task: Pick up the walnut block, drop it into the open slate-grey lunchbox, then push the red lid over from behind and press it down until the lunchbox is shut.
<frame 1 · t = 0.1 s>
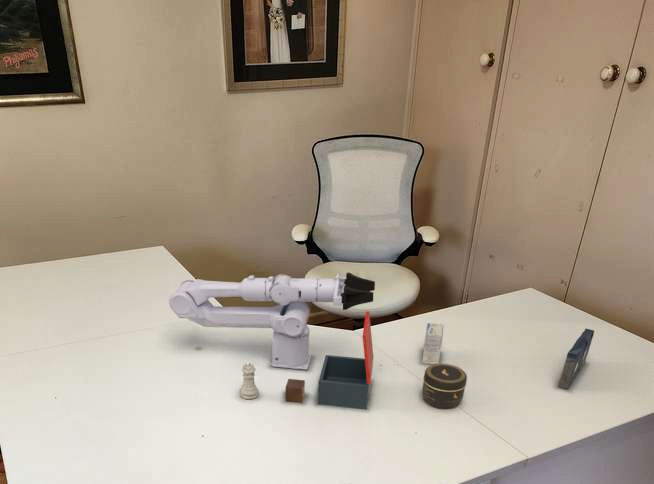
hand: (374, 291, 151), 22 cm above the table, tool horizontal, fingers open, 7 cm apart
lid: (368, 347, 145), point 13 cm above the table, hinge at 80.0°
rook chess piece: (249, 396, 149), on the table
jar: (441, 400, 151), on the table
lunchbox: (344, 392, 152), on the table
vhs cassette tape: (571, 375, 164), on the table
medicine box: (430, 358, 169), on the table
block: (294, 398, 149), on the table
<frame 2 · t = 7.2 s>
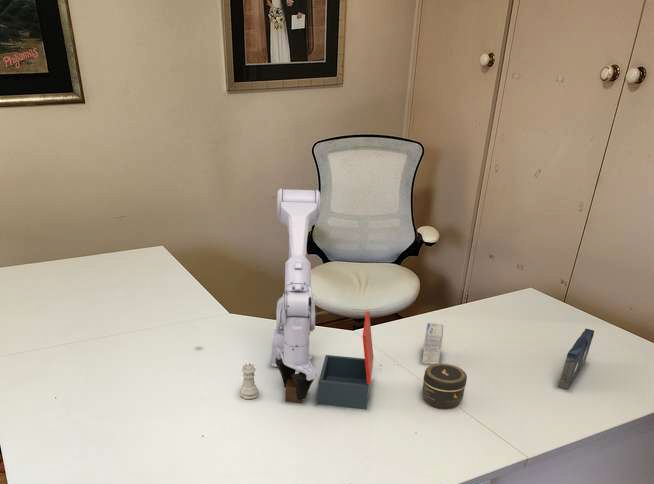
hand: (295, 393, 148), 1 cm above the table, tool pointing down, fingers closed on block, 5 cm apart
block: (294, 397, 149), on the table, touching gripper
everything else where it was.
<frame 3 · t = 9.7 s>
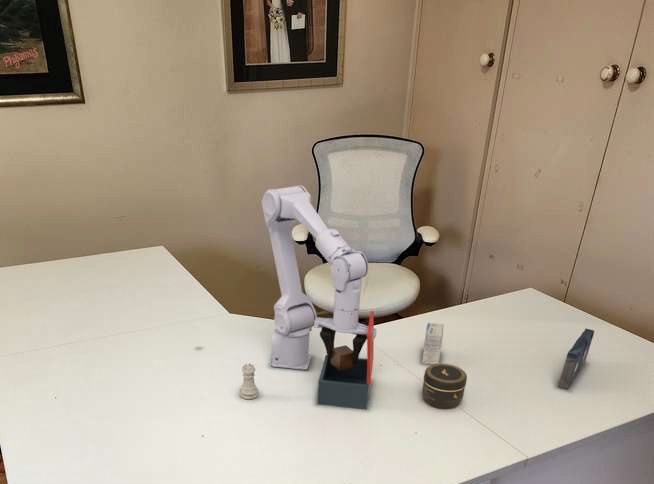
hand: (342, 359, 147), 9 cm above the table, tool pointing down, fingers closed on block, 5 cm apart
lid: (370, 347, 145), point 13 cm above the table, hinge at 84.8°, touching gripper
block: (342, 365, 148), point 7 cm above the table, touching gripper
everything else where it was.
when the fingers open (9 cm above the table, at t = 23.6 s): block drops 7 cm, resting on lunchbox.
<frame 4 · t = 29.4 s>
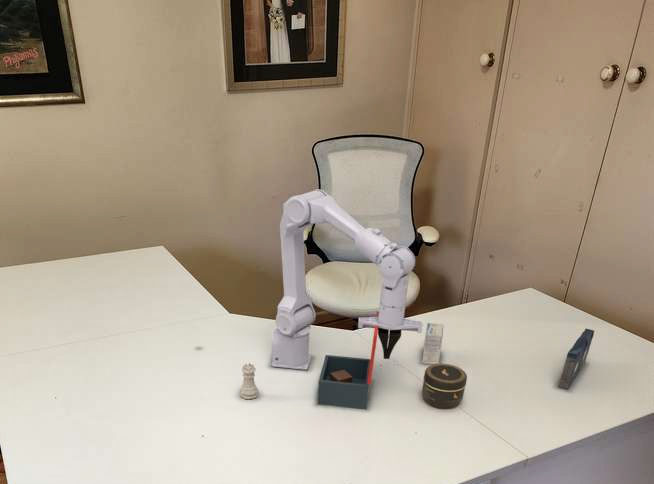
hand: (386, 357, 146), 10 cm above the table, tool pointing down, fingers closed
lid: (373, 347, 145), point 13 cm above the table, hinge at 91.7°, touching gripper
block: (340, 389, 152), point 1 cm above the table, touching lunchbox
everything else where it was.
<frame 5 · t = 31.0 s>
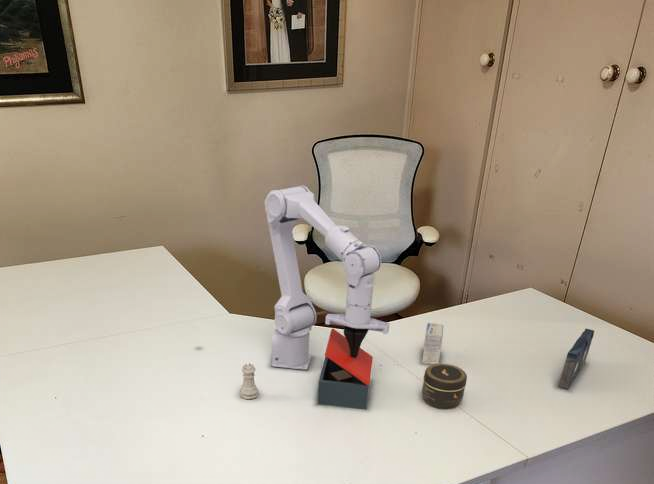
hand: (354, 355, 146), 10 cm above the table, tool pointing down, fingers closed
lid: (349, 356, 147), point 10 cm above the table, hinge at 32.8°, touching gripper
everything else where it was.
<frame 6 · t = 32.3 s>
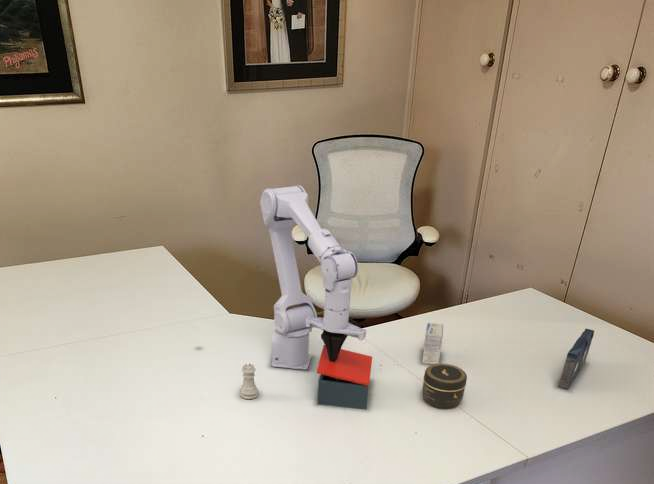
hand: (333, 359, 148), 9 cm above the table, tool pointing down, fingers closed
lid: (345, 364, 148), point 8 cm above the table, hinge at 9.3°, touching gripper
everything else where it was.
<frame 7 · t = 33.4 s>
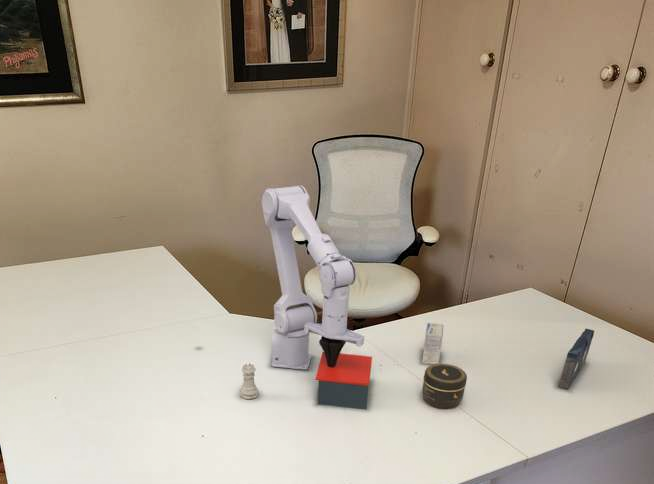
hand: (331, 365, 149), 7 cm above the table, tool pointing down, fingers closed, pressing on lid
lid: (344, 368, 148), point 7 cm above the table, hinge at 0.5°, touching gripper
everything else where it was.
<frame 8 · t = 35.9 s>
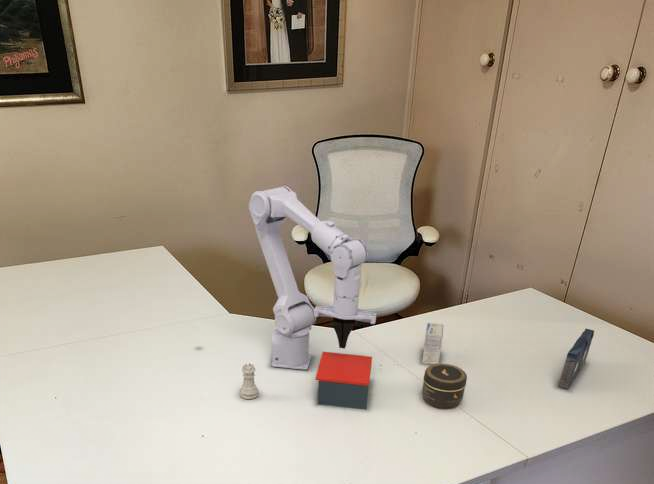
hand: (342, 346, 150), 10 cm above the table, tool pointing down, fingers closed
lid: (344, 368, 148), point 7 cm above the table, hinge at 0.5°
everything else where it was.
at the end: block inside the target area in the lunchbox (1.1 cm from its centre), point 0.8 cm above the lunchbox's base; lid at +0° (first picture: +80°) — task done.
